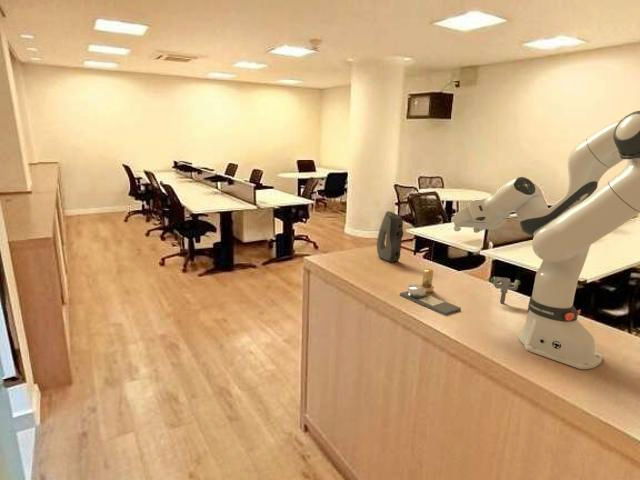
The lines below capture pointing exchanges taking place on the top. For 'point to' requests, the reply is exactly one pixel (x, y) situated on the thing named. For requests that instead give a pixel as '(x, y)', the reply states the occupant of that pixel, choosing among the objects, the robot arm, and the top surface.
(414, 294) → the carrier plate
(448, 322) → the top surface
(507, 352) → the top surface
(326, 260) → the top surface
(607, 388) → the top surface
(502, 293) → the mechanical component
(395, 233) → the handheld device
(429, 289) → the gold pawn piece
